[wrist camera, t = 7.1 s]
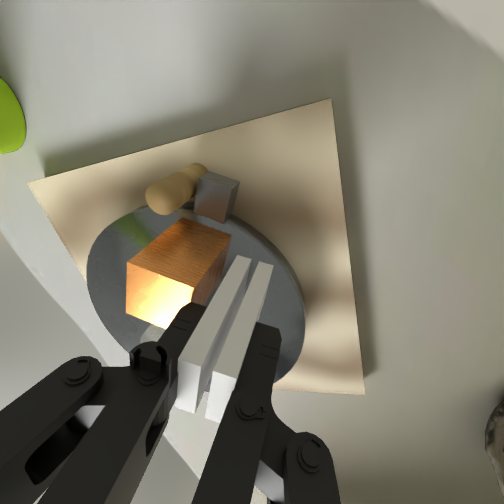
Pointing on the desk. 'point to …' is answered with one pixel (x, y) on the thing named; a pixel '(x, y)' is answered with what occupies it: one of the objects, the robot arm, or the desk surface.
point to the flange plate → (243, 245)
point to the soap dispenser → (10, 120)
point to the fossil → (496, 442)
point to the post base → (243, 218)
